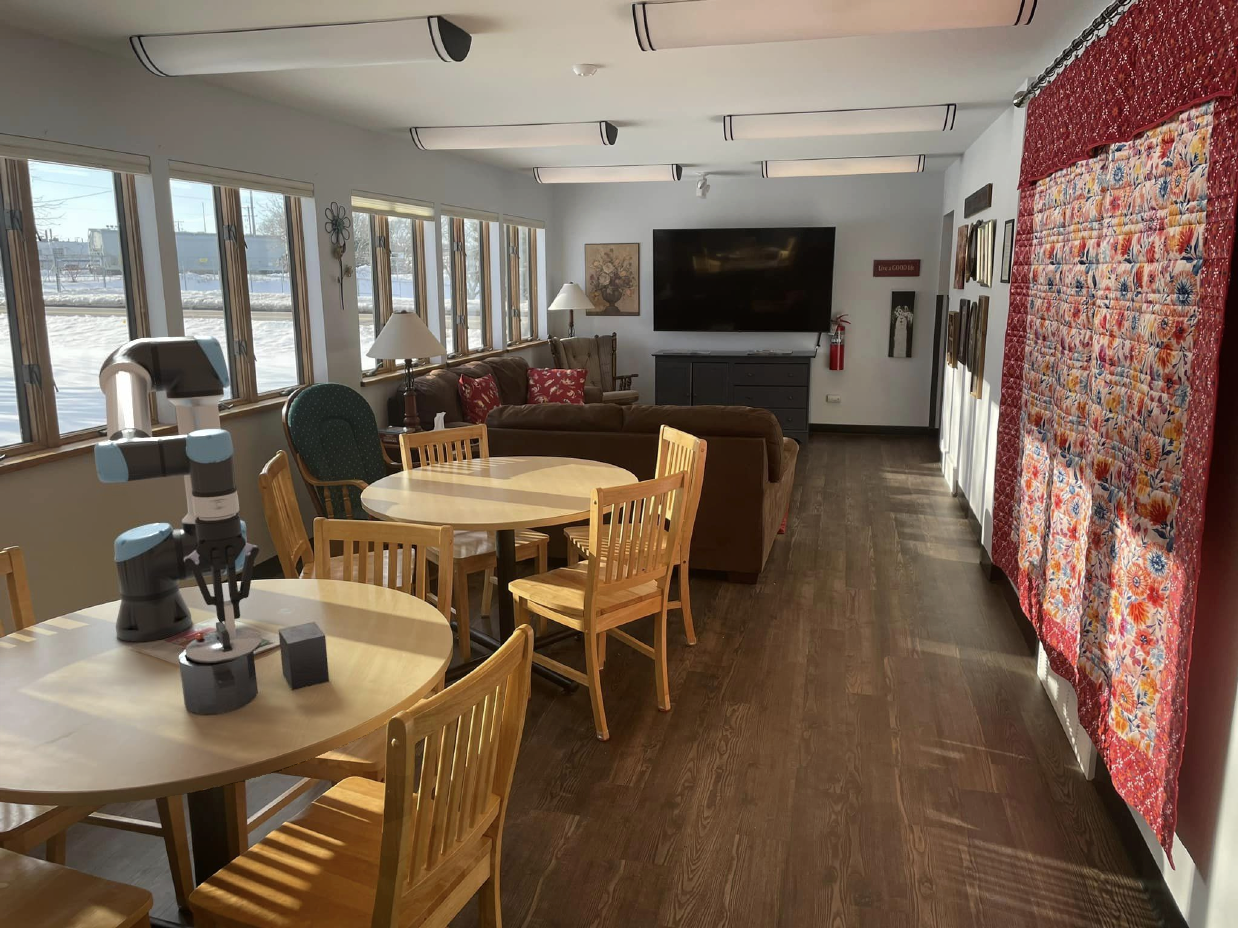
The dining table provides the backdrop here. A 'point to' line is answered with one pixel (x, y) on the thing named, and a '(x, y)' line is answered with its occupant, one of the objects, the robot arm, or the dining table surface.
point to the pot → (218, 684)
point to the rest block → (303, 655)
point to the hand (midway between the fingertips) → (230, 635)
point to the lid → (222, 645)
